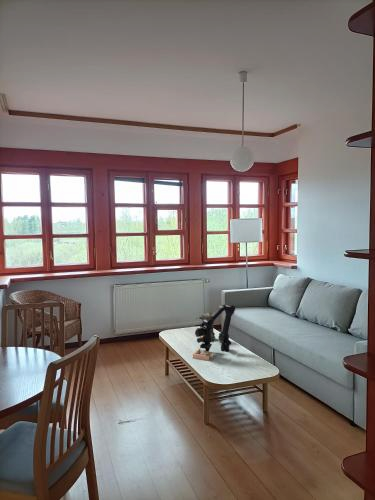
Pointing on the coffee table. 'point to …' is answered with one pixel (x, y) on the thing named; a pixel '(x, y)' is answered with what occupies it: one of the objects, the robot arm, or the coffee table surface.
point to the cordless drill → (212, 325)
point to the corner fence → (197, 356)
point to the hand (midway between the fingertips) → (207, 353)
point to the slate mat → (213, 356)
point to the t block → (207, 354)
